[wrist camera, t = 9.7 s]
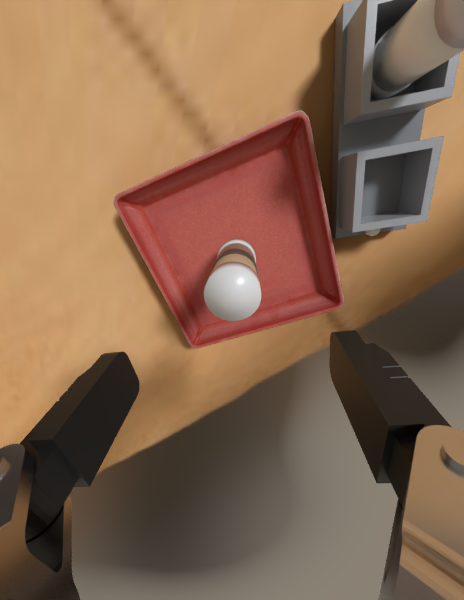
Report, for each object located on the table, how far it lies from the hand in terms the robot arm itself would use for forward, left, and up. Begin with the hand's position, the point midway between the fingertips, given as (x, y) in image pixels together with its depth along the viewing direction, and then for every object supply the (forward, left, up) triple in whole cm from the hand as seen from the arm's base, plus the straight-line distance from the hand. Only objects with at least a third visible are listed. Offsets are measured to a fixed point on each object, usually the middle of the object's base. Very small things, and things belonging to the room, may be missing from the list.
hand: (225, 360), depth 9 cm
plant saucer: (0, 0, -19) cm, 18 cm away
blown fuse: (0, 0, -15) cm, 15 cm away
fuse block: (-13, -8, -18) cm, 23 cm away
